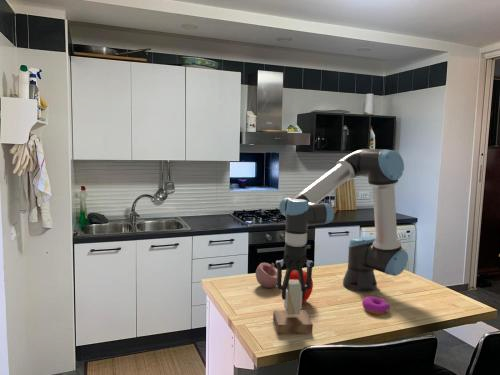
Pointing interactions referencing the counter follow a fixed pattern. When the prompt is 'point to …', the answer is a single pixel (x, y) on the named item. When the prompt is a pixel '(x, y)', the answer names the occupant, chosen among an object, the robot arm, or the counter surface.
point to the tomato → (295, 276)
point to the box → (294, 297)
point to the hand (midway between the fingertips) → (292, 307)
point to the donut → (375, 305)
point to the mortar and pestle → (266, 275)
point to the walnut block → (292, 323)
